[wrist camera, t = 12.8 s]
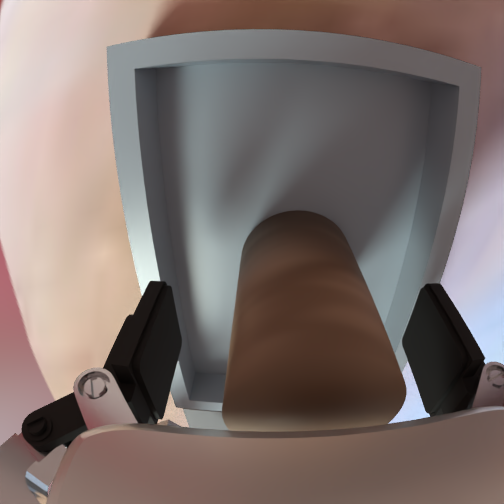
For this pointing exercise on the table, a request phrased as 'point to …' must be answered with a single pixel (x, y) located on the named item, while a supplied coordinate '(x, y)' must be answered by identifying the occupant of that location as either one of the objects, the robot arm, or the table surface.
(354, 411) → the block
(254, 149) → the tray
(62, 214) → the table surface
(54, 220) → the table surface
